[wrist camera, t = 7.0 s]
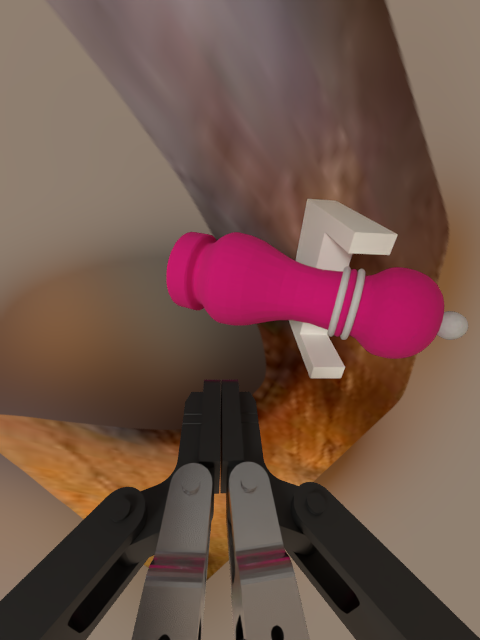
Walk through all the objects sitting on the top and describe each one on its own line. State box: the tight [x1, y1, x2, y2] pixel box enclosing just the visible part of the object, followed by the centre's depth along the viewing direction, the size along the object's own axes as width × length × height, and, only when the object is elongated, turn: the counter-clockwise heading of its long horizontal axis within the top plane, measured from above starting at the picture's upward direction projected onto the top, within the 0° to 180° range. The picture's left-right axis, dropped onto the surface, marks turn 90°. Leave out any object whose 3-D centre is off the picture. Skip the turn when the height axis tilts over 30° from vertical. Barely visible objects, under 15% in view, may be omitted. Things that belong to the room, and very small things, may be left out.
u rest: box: [289, 199, 398, 378], centre depth 22 cm, size 11×2×10 cm, turn 176°
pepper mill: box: [167, 232, 468, 359], centre depth 20 cm, size 7×7×20 cm
